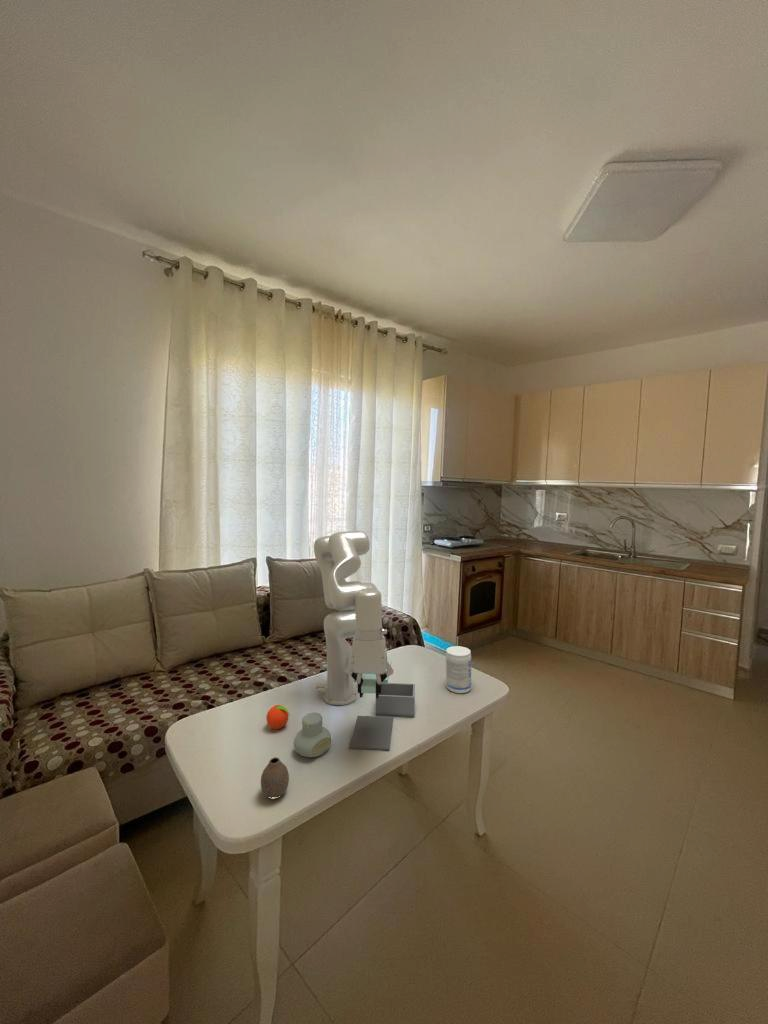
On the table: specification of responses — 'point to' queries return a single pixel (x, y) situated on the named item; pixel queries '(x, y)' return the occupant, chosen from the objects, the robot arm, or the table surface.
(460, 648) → the supplement tub
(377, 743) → the mat
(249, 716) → the table surface
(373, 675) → the lid
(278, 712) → the clementine
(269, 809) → the table surface
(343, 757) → the table surface
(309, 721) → the air freshener
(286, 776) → the vase
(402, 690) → the tub
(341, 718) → the table surface
